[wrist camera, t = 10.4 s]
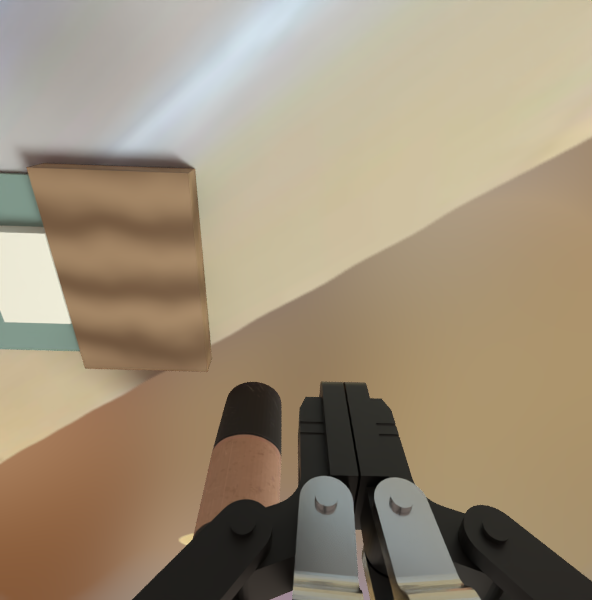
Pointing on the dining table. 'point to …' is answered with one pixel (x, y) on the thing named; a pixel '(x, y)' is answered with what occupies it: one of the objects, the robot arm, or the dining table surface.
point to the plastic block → (29, 278)
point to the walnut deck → (128, 263)
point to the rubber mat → (24, 212)
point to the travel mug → (244, 452)
